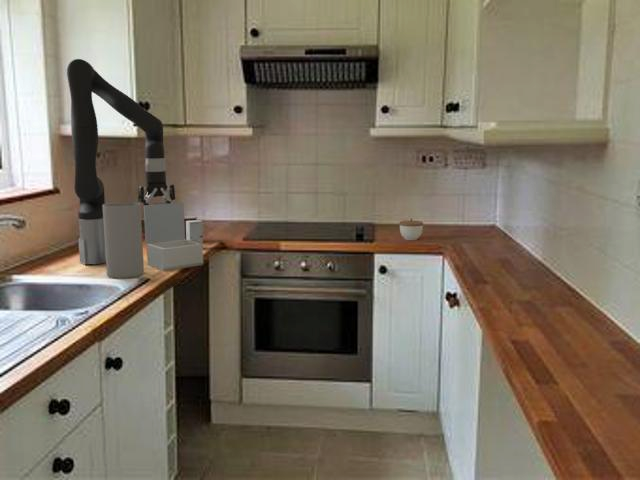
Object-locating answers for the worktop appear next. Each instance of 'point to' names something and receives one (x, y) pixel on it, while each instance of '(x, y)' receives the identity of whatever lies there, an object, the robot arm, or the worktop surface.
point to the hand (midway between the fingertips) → (157, 212)
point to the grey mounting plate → (164, 222)
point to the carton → (174, 254)
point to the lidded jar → (411, 229)
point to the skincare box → (194, 231)
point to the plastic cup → (188, 220)
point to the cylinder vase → (123, 239)
